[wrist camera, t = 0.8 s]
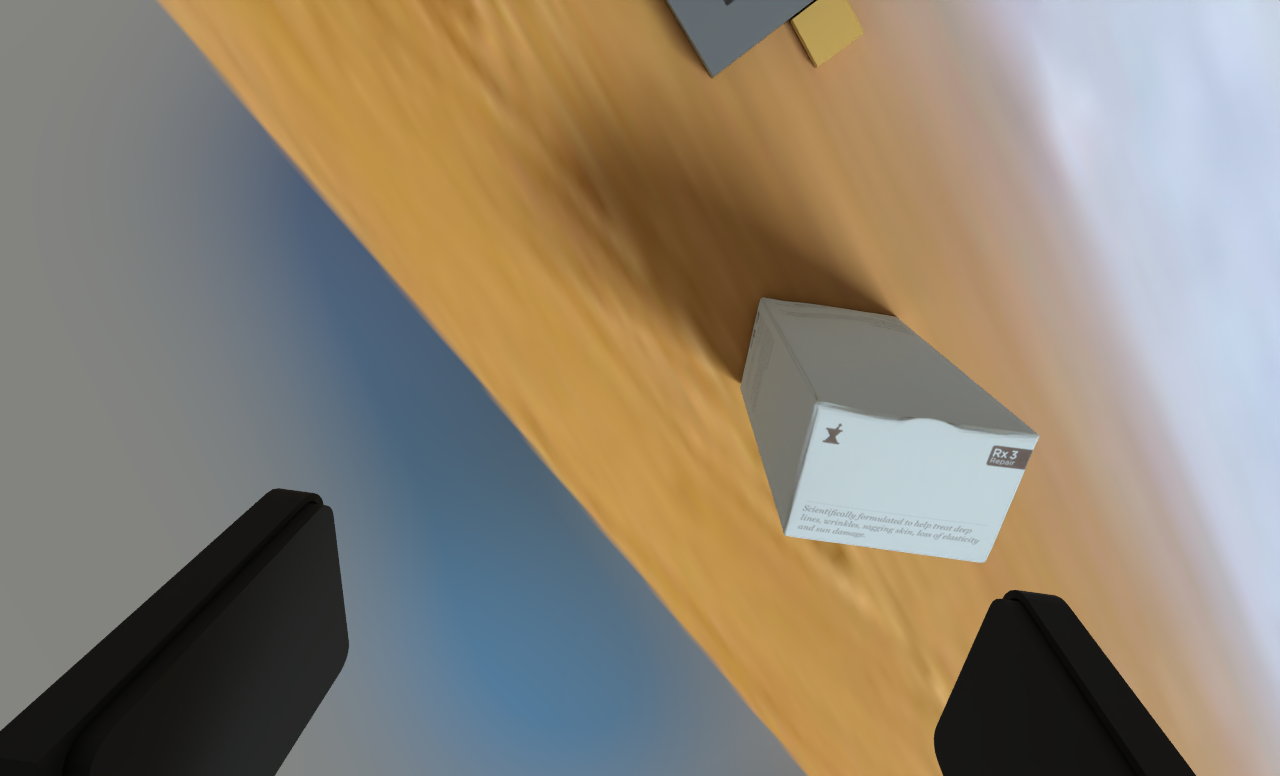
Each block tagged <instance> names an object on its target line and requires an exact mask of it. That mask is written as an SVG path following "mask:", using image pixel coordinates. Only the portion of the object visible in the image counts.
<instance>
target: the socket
mask: <svg viewBox="0 0 1280 776" xmlns="http://www.w3.org/2000/svg"><path fill="white" fill-rule="evenodd" d="M665 1H666V3H667V4H668V6H669V8H670V9H671V11H672V13H673V14H674V16H675V18H676V19H677V21H678V23H679V24H680V26H681V28H682V29H683V31H684V33H685V34H686V36H687V38H688V39H689V41H690V43H691V44H692V46H693V48H694V49H695V51H696V53H697V54H698V56H699V58H700V59H701V61H702V63H703V65H704V66H705V68H706V70H707V71H708V73H709V75H710V76H711V78H713V77H715V76H716V75H717V74H718V73H720V72H721V71H722V70H724V69H725V68H726V67H728V66H729V65H730V64H732V63H733V62H734V61H735V60H737V59H738V58H739V57H741V56H742V55H743V54H745V53H746V52H747V51H748V50H750V49H751V48H752V47H754V46H755V45H756V44H758V43H759V42H760V41H762V40H763V39H764V38H765V37H767V36H768V35H769V34H771V33H772V32H773V31H775V30H776V29H777V28H779V27H780V26H781V25H782V24H784V23H785V22H786V21H788V20H789V19H790V18H792V17H793V16H794V15H795V14H797V13H798V12H799V11H801V10H802V9H803V8H805V7H806V6H807V5H809V4H810V3H811V2H812V1H814V0H665ZM790 22H791V24H792V26H793V28H794V30H795V32H796V33H797V35H798V37H799V39H800V41H801V43H802V45H803V46H804V48H805V50H806V52H807V54H808V56H809V57H810V59H811V61H812V63H813V65H814V67H815V68H816V67H818V66H820V65H821V64H822V63H824V62H825V61H826V60H828V59H829V58H831V57H832V56H833V55H835V54H836V53H837V52H839V51H840V50H842V49H843V48H844V47H846V46H847V45H848V44H850V43H851V42H853V41H854V40H855V39H857V38H858V37H859V36H861V35H862V34H863V33H864V31H863V29H862V27H861V25H860V23H859V22H858V20H857V18H856V16H855V14H854V12H853V10H852V8H851V6H850V4H849V2H848V0H817V1H816V2H814V3H813V4H812V5H810V6H809V7H808V8H807V9H805V10H804V11H803V12H801V13H800V14H799V15H797V16H796V17H795V18H793V19H792V20H791V21H790Z"/></svg>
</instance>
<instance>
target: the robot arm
mask: <svg viewBox="0 0 1280 776" xmlns="http://www.w3.org/2000/svg"><path fill="white" fill-rule="evenodd" d="M348 649H349V640H348V631H347V623H346V615H345V607H344V598H343V590H342V583H341V574H340V566H339V557H338V549H337V541H336V532H335V524H334V516H333V512H332V509H331V508H330V507H329V506H326V505H323V501H322V499H321V497H320V496H319V495H317V494H315V493H308V492H301V491H294V490H286V489H272V490H271V491H269V492H268V493H266V494H265V495H264V496H263V497H262V498H261V499H260V500H259V501H258V502H256V503H255V504H254V505H253V506H252V507H251V508H250V509H249V510H247V511H246V512H245V513H244V514H243V515H242V516H241V517H240V518H238V520H236V521H235V522H234V523H233V524H232V525H231V526H229V527H228V528H227V529H226V530H225V531H224V532H223V533H222V534H221V535H219V536H218V537H217V538H216V539H215V540H214V541H213V542H212V543H210V545H208V546H207V547H206V548H205V549H204V550H203V551H202V552H200V553H199V554H198V555H197V556H196V557H195V558H194V559H193V560H191V561H190V562H189V563H188V564H187V565H186V566H185V567H184V568H183V569H181V570H180V571H179V572H178V573H177V574H176V575H175V576H174V577H172V578H171V579H170V580H169V581H168V582H167V583H166V584H165V585H163V586H162V587H161V588H160V589H159V590H158V591H157V592H156V593H154V595H152V596H151V597H150V598H149V599H148V600H147V601H146V602H144V603H143V604H142V605H141V606H140V607H139V608H138V609H137V610H136V611H134V612H133V613H132V614H131V615H130V616H129V617H128V618H126V619H125V620H124V621H123V622H122V623H121V624H120V625H119V626H118V627H117V628H116V629H114V630H113V631H112V632H111V633H110V634H109V635H107V636H106V637H105V638H104V639H103V640H102V641H101V642H100V643H98V644H97V645H96V646H95V647H94V648H93V649H92V650H91V651H90V652H89V653H87V654H86V655H85V656H84V657H83V658H82V659H81V660H79V661H78V662H77V663H76V664H75V665H74V666H73V667H72V668H71V669H70V670H68V671H67V672H66V673H65V674H64V675H63V676H62V677H60V678H59V679H58V680H57V681H56V682H55V683H54V684H53V685H51V686H50V687H49V688H48V689H47V690H46V691H45V692H44V693H42V694H41V695H40V696H39V697H38V698H37V699H36V700H35V701H34V702H32V703H31V704H30V705H29V706H28V707H27V708H26V709H25V710H23V711H22V712H21V713H20V714H19V715H18V716H17V717H16V718H14V719H13V720H12V721H11V722H10V723H9V724H8V725H7V726H6V727H5V728H3V729H2V730H1V731H0V776H275V774H276V773H277V771H278V769H279V768H280V766H281V765H282V763H283V762H284V760H285V758H286V757H287V755H288V754H289V752H290V750H291V749H292V747H293V746H294V744H295V743H296V741H297V739H298V738H299V736H300V735H301V733H302V731H303V730H304V728H305V727H306V725H307V724H308V722H309V720H310V719H311V717H312V716H313V714H314V713H315V711H316V709H317V708H318V706H319V704H320V703H321V702H322V700H323V698H324V697H325V695H326V694H327V692H328V691H329V689H330V687H331V686H332V684H333V682H334V681H335V679H336V678H337V676H338V675H339V673H340V672H341V670H342V668H343V666H344V663H345V661H346V658H347V654H348ZM934 747H935V753H936V757H937V760H938V763H939V766H940V768H941V771H942V774H943V776H1196V775H1195V773H1194V772H1193V771H1192V769H1191V768H1190V767H1189V765H1188V764H1187V763H1186V761H1185V760H1184V759H1183V757H1182V756H1181V755H1180V753H1179V752H1178V751H1177V749H1176V748H1175V747H1174V745H1173V744H1172V743H1171V741H1170V740H1169V739H1168V737H1167V736H1166V735H1165V733H1164V732H1163V731H1162V729H1161V728H1160V727H1159V726H1158V724H1157V723H1156V722H1155V720H1154V719H1153V718H1152V716H1151V715H1150V714H1149V712H1148V711H1147V710H1146V708H1145V707H1144V706H1143V704H1142V703H1141V702H1140V700H1139V699H1138V698H1137V696H1136V695H1135V694H1134V692H1133V691H1132V690H1131V688H1130V687H1129V686H1128V684H1127V683H1126V682H1125V680H1124V679H1123V678H1122V676H1121V675H1120V674H1119V672H1118V671H1117V670H1116V668H1115V667H1114V666H1113V664H1112V663H1111V662H1110V660H1109V659H1108V658H1107V656H1106V655H1105V654H1104V652H1103V651H1102V650H1101V648H1100V647H1099V646H1098V644H1097V643H1096V642H1095V640H1094V639H1093V638H1092V636H1091V635H1090V634H1089V632H1088V631H1087V630H1086V628H1085V627H1084V626H1083V624H1082V623H1081V622H1080V620H1079V619H1078V618H1077V616H1076V615H1075V614H1074V612H1073V611H1072V610H1071V608H1070V607H1069V606H1068V604H1067V603H1066V602H1065V601H1064V600H1063V599H1062V598H1060V597H1057V596H1055V595H1048V594H1041V593H1034V592H1026V591H1019V590H1011V591H1009V592H1008V593H1006V594H1005V595H1004V597H1003V599H996V600H994V601H993V602H992V604H991V605H990V607H989V609H988V612H987V614H986V616H985V618H984V621H983V623H982V625H981V627H980V630H979V632H978V634H977V636H976V639H975V641H974V643H973V645H972V648H971V650H970V652H969V654H968V657H967V659H966V661H965V663H964V666H963V668H962V670H961V672H960V675H959V677H958V679H957V681H956V684H955V686H954V688H953V690H952V693H951V695H950V697H949V699H948V702H947V704H946V706H945V708H944V711H943V713H942V715H941V717H940V720H939V722H938V724H937V726H936V729H935V734H934Z"/></svg>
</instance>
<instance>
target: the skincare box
mask: <svg viewBox="0 0 1280 776" xmlns="http://www.w3.org/2000/svg"><path fill="white" fill-rule="evenodd" d="M740 388H741V392H742V395H743V399H744V402H745V406H746V409H747V413H748V416H749V419H750V422H751V425H752V429H753V432H754V435H755V439H756V442H757V445H758V449H759V452H760V456H761V458H762V462H763V466H764V469H765V472H766V475H767V479H768V482H769V485H770V488H771V491H772V495H773V498H774V502H775V505H776V508H777V511H778V514H779V518H780V521H781V525H782V528H783V532H784V535H786V536H791V537H797V538H804V539H811V540H819V541H827V542H834V543H842V544H849V545H856V546H864V547H871V548H878V549H885V550H892V551H899V552H907V553H914V554H922V555H929V556H936V557H944V558H951V559H958V560H965V561H972V562H979V563H984V562H985V561H986V559H987V557H988V555H989V553H990V551H991V549H992V546H993V544H994V542H995V539H996V537H997V535H998V533H999V530H1000V528H1001V525H1002V523H1003V520H1004V518H1005V516H1006V513H1007V511H1008V509H1009V506H1010V504H1011V502H1012V499H1013V497H1014V495H1015V492H1016V490H1017V488H1018V485H1019V483H1020V481H1021V478H1022V476H1023V474H1024V471H1025V468H1026V466H1027V463H1028V460H1029V458H1030V456H1031V454H1032V451H1033V449H1034V447H1035V445H1036V443H1037V441H1038V438H1039V435H1038V434H1037V433H1036V432H1035V431H1033V430H1032V429H1031V428H1030V427H1029V426H1027V425H1026V424H1025V423H1024V422H1022V421H1021V420H1020V419H1019V418H1018V417H1016V416H1015V415H1014V414H1013V413H1012V412H1010V411H1009V410H1008V409H1007V408H1006V407H1004V406H1003V405H1002V404H1001V403H999V402H998V401H997V400H996V399H995V398H993V397H992V396H991V395H990V394H989V393H987V392H986V391H985V390H984V389H983V388H981V387H980V386H979V385H978V384H976V383H975V382H974V381H973V380H972V379H970V378H969V377H968V376H967V375H966V374H964V373H963V372H962V371H961V370H960V369H958V368H957V367H956V366H955V365H953V364H952V363H951V362H950V361H949V360H947V359H946V358H945V357H944V356H943V355H941V354H940V353H939V352H938V351H936V350H935V349H934V348H933V347H932V346H931V345H929V344H928V343H927V342H926V341H924V340H923V339H922V338H921V337H920V336H918V335H917V334H916V333H915V332H914V331H912V330H911V329H910V328H909V327H908V326H906V325H905V324H904V323H903V322H902V321H901V320H899V318H897V317H893V316H889V315H883V314H876V313H869V312H862V311H856V310H850V309H844V308H836V307H829V306H823V305H816V304H809V303H800V302H788V301H781V300H776V299H770V298H764V297H762V298H761V299H760V302H759V306H758V311H757V315H756V319H755V324H754V328H753V332H752V337H751V341H750V346H749V350H748V355H747V359H746V364H745V369H744V373H743V378H742V382H741V387H740Z"/></svg>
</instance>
